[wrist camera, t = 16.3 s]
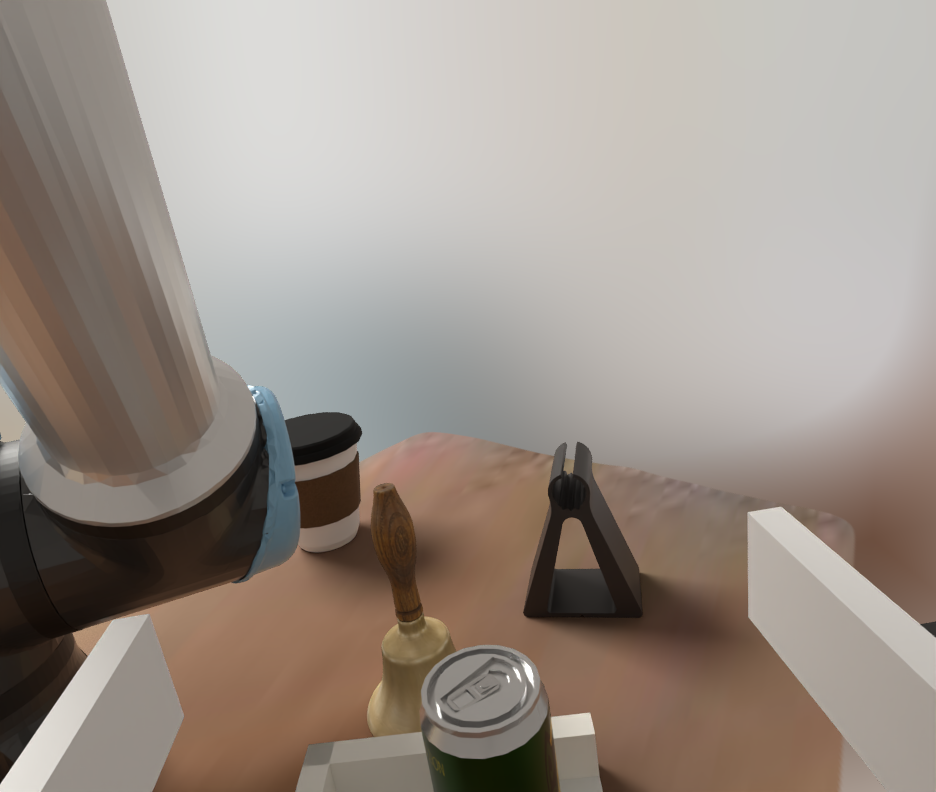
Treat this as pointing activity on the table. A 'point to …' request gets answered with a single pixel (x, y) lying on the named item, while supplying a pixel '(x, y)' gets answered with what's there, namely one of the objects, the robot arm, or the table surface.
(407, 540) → the hand bell
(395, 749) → the tray
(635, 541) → the table surface
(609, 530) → the phone stand
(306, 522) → the coffee cup
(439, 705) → the beer can
